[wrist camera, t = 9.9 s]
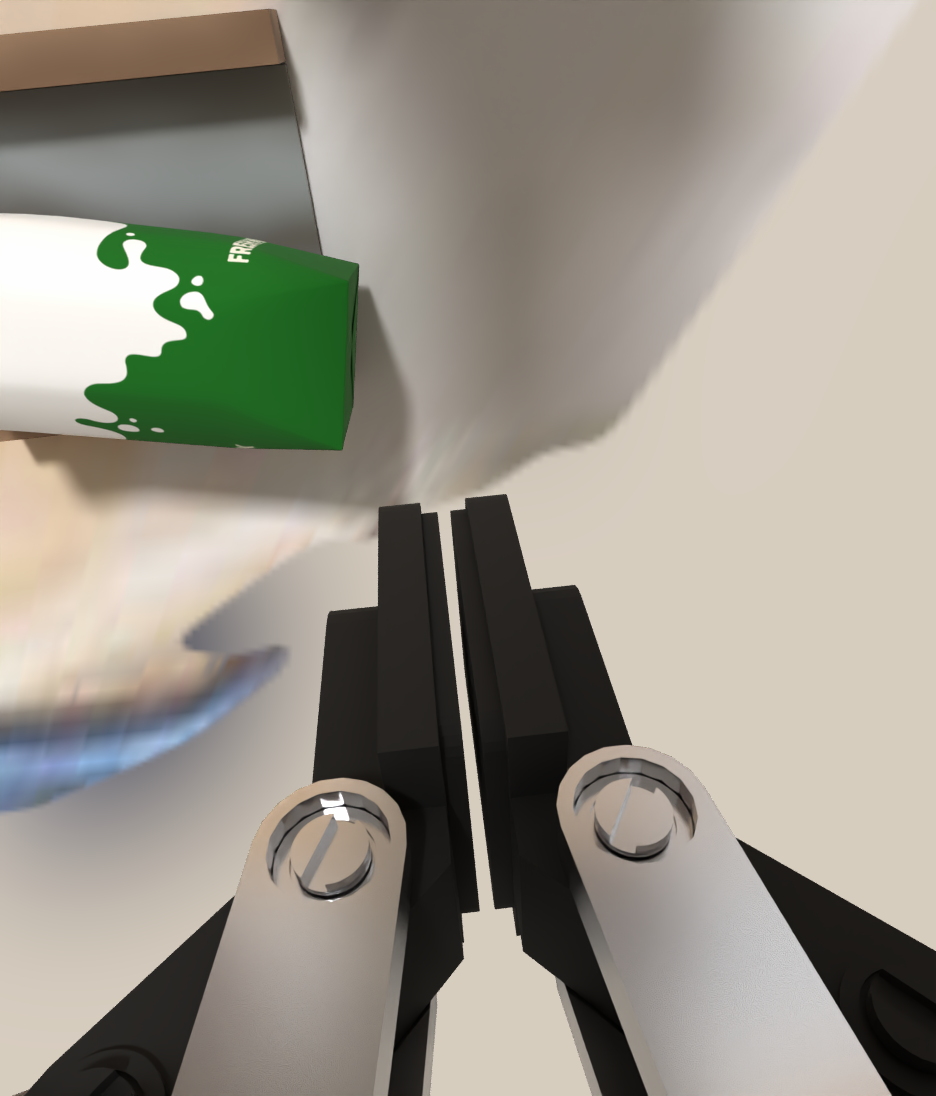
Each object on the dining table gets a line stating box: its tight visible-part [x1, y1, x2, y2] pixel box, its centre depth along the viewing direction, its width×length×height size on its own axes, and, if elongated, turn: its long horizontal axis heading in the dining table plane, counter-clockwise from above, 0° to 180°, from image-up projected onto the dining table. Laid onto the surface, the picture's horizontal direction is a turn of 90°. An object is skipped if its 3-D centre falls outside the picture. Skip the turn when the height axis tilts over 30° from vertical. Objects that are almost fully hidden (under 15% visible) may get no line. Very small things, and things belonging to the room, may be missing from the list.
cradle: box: [0, 9, 321, 442], centre depth 35 cm, size 17×18×2 cm
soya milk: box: [0, 213, 359, 450], centre depth 33 cm, size 9×9×20 cm
